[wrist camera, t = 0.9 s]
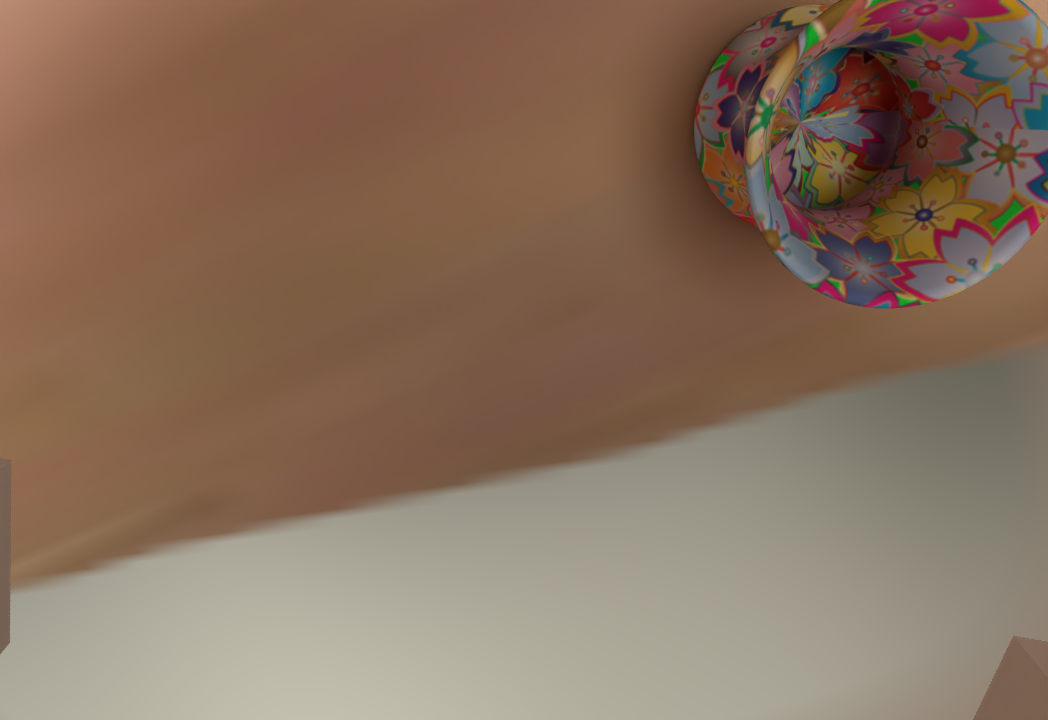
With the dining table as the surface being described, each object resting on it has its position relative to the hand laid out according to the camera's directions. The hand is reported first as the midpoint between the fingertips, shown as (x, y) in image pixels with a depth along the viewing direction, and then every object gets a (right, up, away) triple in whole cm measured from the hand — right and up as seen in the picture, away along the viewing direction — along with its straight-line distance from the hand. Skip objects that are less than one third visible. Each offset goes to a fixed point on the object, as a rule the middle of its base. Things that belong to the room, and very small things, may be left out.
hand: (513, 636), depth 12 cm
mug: (+12, +13, +24) cm, 30 cm away
